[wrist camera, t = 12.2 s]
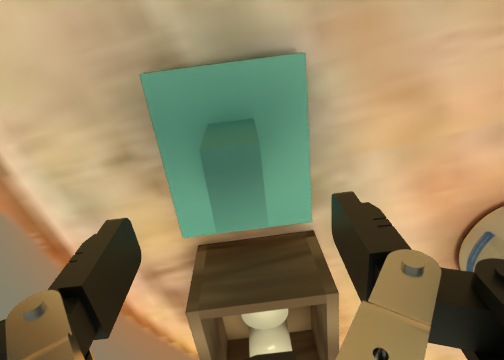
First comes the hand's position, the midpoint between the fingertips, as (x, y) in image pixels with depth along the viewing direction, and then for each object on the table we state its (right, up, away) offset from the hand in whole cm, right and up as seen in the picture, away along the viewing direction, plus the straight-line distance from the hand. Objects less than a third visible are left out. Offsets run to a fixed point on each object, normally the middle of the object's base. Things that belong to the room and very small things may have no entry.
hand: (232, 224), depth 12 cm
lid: (0, +4, +10) cm, 11 cm away
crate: (+2, -9, +16) cm, 19 cm away
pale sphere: (+2, -11, +17) cm, 20 cm away
